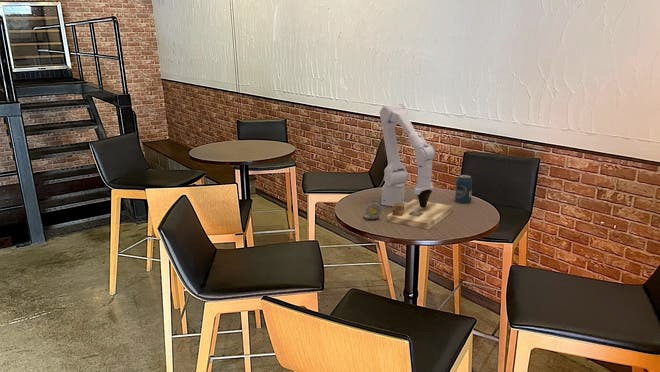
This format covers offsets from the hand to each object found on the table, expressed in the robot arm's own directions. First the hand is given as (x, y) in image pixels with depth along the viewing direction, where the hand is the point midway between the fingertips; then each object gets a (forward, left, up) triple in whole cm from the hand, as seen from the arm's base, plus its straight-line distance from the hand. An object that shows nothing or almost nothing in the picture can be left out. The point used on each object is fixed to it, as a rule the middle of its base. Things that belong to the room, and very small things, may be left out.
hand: (423, 207), depth 210 cm
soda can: (+8, +27, -4) cm, 28 cm away
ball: (0, -7, -2) cm, 7 cm away
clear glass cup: (-16, -15, -4) cm, 22 cm away
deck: (0, -2, -3) cm, 4 cm away
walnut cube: (-6, -11, -1) cm, 13 cm away
